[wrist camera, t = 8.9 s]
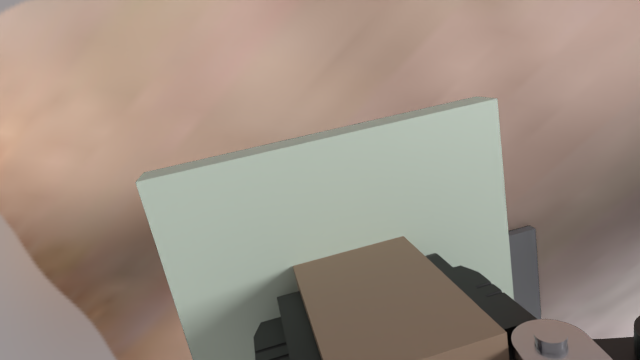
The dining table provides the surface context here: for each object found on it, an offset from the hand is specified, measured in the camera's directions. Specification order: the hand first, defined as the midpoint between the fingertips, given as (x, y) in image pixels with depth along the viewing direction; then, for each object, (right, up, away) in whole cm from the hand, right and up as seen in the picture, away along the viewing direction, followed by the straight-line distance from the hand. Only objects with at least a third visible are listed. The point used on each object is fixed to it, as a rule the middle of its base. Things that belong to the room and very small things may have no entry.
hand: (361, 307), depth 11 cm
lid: (0, 0, +1) cm, 1 cm away
